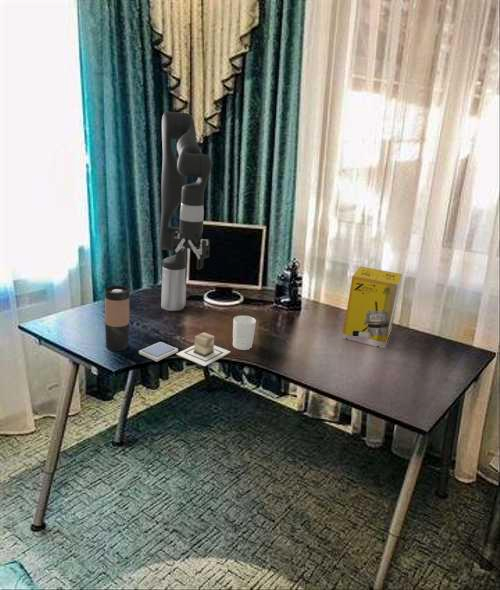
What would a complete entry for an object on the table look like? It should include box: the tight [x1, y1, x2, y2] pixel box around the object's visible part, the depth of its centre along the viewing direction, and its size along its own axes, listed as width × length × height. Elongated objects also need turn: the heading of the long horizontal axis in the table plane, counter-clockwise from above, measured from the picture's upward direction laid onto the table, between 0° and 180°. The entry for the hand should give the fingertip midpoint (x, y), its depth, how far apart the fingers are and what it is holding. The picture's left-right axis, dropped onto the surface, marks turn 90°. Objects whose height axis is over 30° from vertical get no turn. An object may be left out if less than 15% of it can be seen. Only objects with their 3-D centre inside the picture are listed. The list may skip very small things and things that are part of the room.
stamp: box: [193, 332, 215, 357], centre depth 162 cm, size 5×5×6 cm
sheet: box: [175, 344, 231, 367], centre depth 163 cm, size 14×12×1 cm
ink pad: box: [138, 341, 179, 363], centre depth 161 cm, size 10×8×1 cm
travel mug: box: [104, 285, 130, 352], centre depth 159 cm, size 8×8×20 cm
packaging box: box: [342, 266, 404, 344], centre depth 186 cm, size 16×16×25 cm
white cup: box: [232, 315, 257, 351], centre depth 170 cm, size 8×8×10 cm
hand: (189, 266), depth 162 cm, fingers open, 8 cm apart
